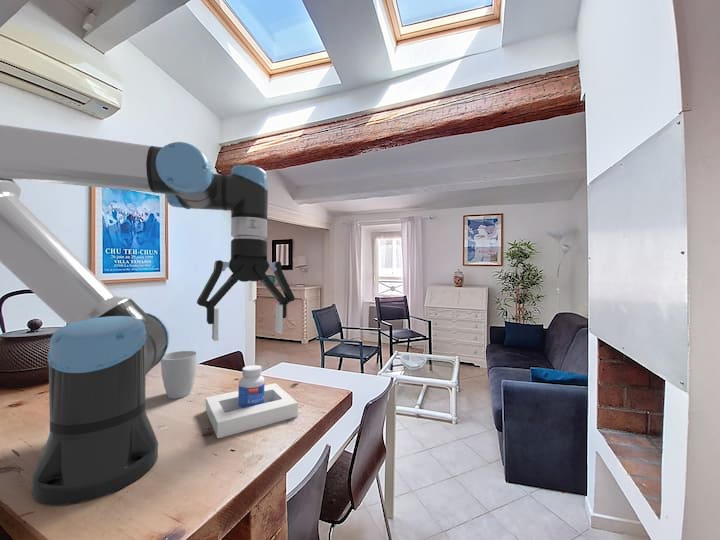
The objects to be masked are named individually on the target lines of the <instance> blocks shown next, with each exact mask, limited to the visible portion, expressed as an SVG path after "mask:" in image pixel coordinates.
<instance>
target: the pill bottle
mask: <svg viewBox="0 0 720 540" xmlns="http://www.w3.org/2000/svg"><path fill="white" fill-rule="evenodd" d="M262 371H263V369H262V366H261V365H259V364H257V365H256V364H254V365H253V364H252V365H247V366H244V367H242V373H241V374H242V376H243V377H241V378H240V379H239V380H238V390H237V391H238V409H242V408H246V407H250V406H255V405H259V404H263V403H264V385H265V377H264V376H263V375H262Z"/></svg>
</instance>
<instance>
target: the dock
mask: <svg viewBox="0 0 720 540" xmlns="http://www.w3.org/2000/svg"><path fill="white" fill-rule="evenodd" d="M238 391H239V390H235V391H231V392H227V393H221V394H216V395H212V396H211V395H210V396H206V397H205V413H206V414H207V418H208V420H209V422H210V424H211V426H212V428H213V431H214V433H215V435H216V438H217V439H221V438H225V437H229V436H232V435H236V434H239V433H243V432H246V431H251V430H254V429H258V428H261V427H265V426H270V425H272V424H276V423H279V422H283V421H287V420H290V419H294V418H296V417H297V418H298V417H299V414H298V413H299V406H298V405H299V403H298V402H297V401H296V399H294V398H293V397H292V396H291V395H290V394H289V393H288V392H287V391H285V390H284V389H283V388H282V387H281V386H279V385H278V384H277V383H270V384H264V403H263V404H259V405H255V406H250V407H246V408H242V409H238Z"/></svg>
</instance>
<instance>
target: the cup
mask: <svg viewBox="0 0 720 540" xmlns="http://www.w3.org/2000/svg"><path fill="white" fill-rule="evenodd" d="M197 362H198V352H197V351H194V350H180V351H173V352H169V353H165V355H164V357H163V358H162V359H161V361H160V367H161V368H160V369H161V370H160V371H161V377H162V383H163V387H164V390H165V393H166V396H167V397H168V398H169V399H179V398H180V399H181V398H184V397H187V396H189V395H191V393H192V389H193V387H194V385H195V379H196V374H197V364H198V363H197Z"/></svg>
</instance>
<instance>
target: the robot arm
mask: <svg viewBox="0 0 720 540" xmlns="http://www.w3.org/2000/svg"><path fill="white" fill-rule="evenodd" d="M230 171H231V172H230V174H219V173H214V171H213V168H212V165H211V163H210V161H209V160H208V158H207V157H206V155H205V154H204V153H203V152H202V150H201V149H199V148H198V147H197V146H194V144H190V143H188V142H183V141H175V142H171V143H168V144H166V145H164V146H156V145H155V146H154V145H151V146H150V145H147V144H146V145H144V144H140V143H139V144H138V143H134V142H133V143H131V142H127V141H126V142H125V141H115V140H110V139H103V138H97V137H91V136H90V137H89V136H81V135H76V134H75V135H74V134H68V133H61V132H53V131H47V130H40V129H32V128H26V127H19V126H11V125H4V124H0V263H1V264H2V265H3V266H5V268H6V269H8V270H9V272H11V273H12V274H13V276H15V277H16V278H17V279H18V280H19V281H20V282H22V283H23V284H24V285H25V286H26V287H27V288H28V289H29V290H30V291H31V292H32V293H34V294H35V296H37V297H38V298H39V299H40V300H41V301H42V302H43V303H44V304H45V305H46V306H47V307H49V309H51V310H52V311H53V312H54V313H55V314H56V315H57V316H58V317H59V318H60V319H61V320H63V322H65V323H66V325H64V326H62V327H60V328H58V329H57V330H55V332H54V333H53V334H52V336H51V337H50V341H49V350H48V352H47V363H48V389H49V390H48V393H49V397H48V398H49V433H48V436H47V437H48V438H47V440H46V442H45V445H44V448H43V450H42V453H41V456H40V458H39V460H38V463H37V465H36V468H35V471H34V474H33V477H32V498H33V500H34V501H35V502H37V503H39V504H43V505H49V506H64V505H72V503H73V504H76V503H83V502H87V501H90V500H93V499H97V498H100V497H103V496H105V495H106V496H107V495H108V494H110V493H112V492H116V491H117V490H120V489H122V488H124V487H126V486H128V485H130V484H131V483H133V482H135V481H136V480H138V479H139V478H141V477H142V476H144V475H145V474H146V473H147V472H148V471H150V470H151V468H152V467H154V465H155V463H156V462H157V460H158V457H159V442H158V439H157V436H156V434H155V431H154V429H153V427H152V424H151V422H150V419H149V417H148V414H147V411H146V376H147V374H148V373H150V371H151V370H152V369H154V367H156V366H157V365H159V363H161V359H162V358H163V357H164V355H165V354H167V351H168V348H169V344H170V332H169V329H168V327H167V325H166V323H165V322H163V320H162V319H160V318H159V317H157V316H156V315H154V314H152V313H148V312H145V311H144V310H143V308H141V307H140V306H139V305H138V304H137V303H136V302H135V301H134V300H133V299H132V298H131V297H121V296H118V295H115V294H114V292H113V291H112V290H110V288H109V287H107V286H106V285H105V284H104V283H103V282H102V280H101V279H100V278H98V277H97V275H95V273H93V271H92V270H91V269H89V267H87V265H85V263H83V262H82V260H81V259H80V258H78V257H77V256H76V255H75V254H74V253H73V252H72V250H70V248H68V247H67V246H66V244H65V243H63V242H62V241H61V240H60V238H58V236H56V235H55V234H54V233H53V232H52V231H51V230H50V229H49V228H48V226H46V225H45V224H44V223H43V222H42V221H41V220H40V219H39V218H38V217H37V215H35V214H34V213H33V212H32V211H31V210H30V209H29V208H28V207H27V206H26V205H25V204H24V203H23V202H22V201H21V200H20V197H21V192H22V190H21V187H20V185H18V184H17V183H16V181H14V180H18V181H28V182H41V183H49V184H62V185H69V186H70V185H72V186H81V187H91V188H104V189H115V190H124V191H134V192H144V193H145V192H146V193H154V194H162V195H165V198H166V200H167V203H168V205H169V206H171V207H174V208H182V209H186V210H190V209H195V210H199V209H200V210H213V211H215V210H216V211H227V212H228V211H229V212H230V213H231V215H230V224H231V225H230V237H232V238H233V239H231V241H230V259H229V261H223V260H221V259H219V260H215V261H214V266H213V271H212V273H211V275H210V277H209V279H208V280H207V282H206V284H205V285H204V288H203V289H202V291H201V293H200V295H199V296H198V299H197V300H196V304H197V305H198V306H201V307H204V308H206V322H207V324H208V325H211V339H212V341H214V342H216V341H219V308H218V307H215V306H217V305H218V303H219V302H220V301H221V300H222V299H223V298H224V297H225V295H226V294H227V293H228V292H229V291H230V290H231V289H232V287H234V285H235V284H236V283H238V282H242V283H243V282H245V283H247V282H249V281H250V282H258V281H259V282H260V283H262V285H264V286H265V288H266V289H267V290H268V292H270V293H271V295H272V296H273V297H274V298H275V299H276V300H277V302H278V303H275V319H274V320H275V324H274V327H275V330H274V331H275V333H277V334H278V335H279V334H283V330H284V329H283V328H284V327H283V326H284V324H283V323H284V322H283V321H284V320H283V319H286V318H287V316H288V315H287V309H288V308H287V305H288V304H289V303H291V302H294V301H295V299H296V298H295V295H294V293H293V292H292V289H291V287H290V285H289V283H288V280H287V279H286V277H285V275H284V272H283V268H282V262H281V261H279V260H278V261H274V262H269V261H268V242H267V240H265V239H266V238H268V206H269V205H268V203H269V202H268V197H269V196H268V195H269V193H268V191H269V189H268V187H269V186H268V175H267V172H266V171H265V170H264V169H263V168H261V167H259V166H256V165H251V164H244V165H243V164H238V165H237V164H236V165H234V166H232V168H231V170H230ZM227 268H228V269H229V270H230V271H231V275H230V276H229V277H228V279H227V280H226V281H225V282H224V284H223V285H221V286H220V288H219V289H218V290H217V291H216V293H214V294H213V295H212V297H211V298H210V299H209V297H210V295H211V293H212V292H213V290H214V288H215V286H216V284H217V282H218V280H219V279H220V277H221V275H222V272H224V271H226V269H227ZM269 269H270V271H271V272H273V275H274V277H275V278H276V280H277V282H278V285H279V287H280V289H281V291H282V293H281V291H280V290H279V288H277V286H275V284H274V283H273V282H272V280H271V279H270V278H269V276H268V275H267V274H266V272H267V271H268V270H269ZM208 299H209V300H208Z"/></svg>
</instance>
